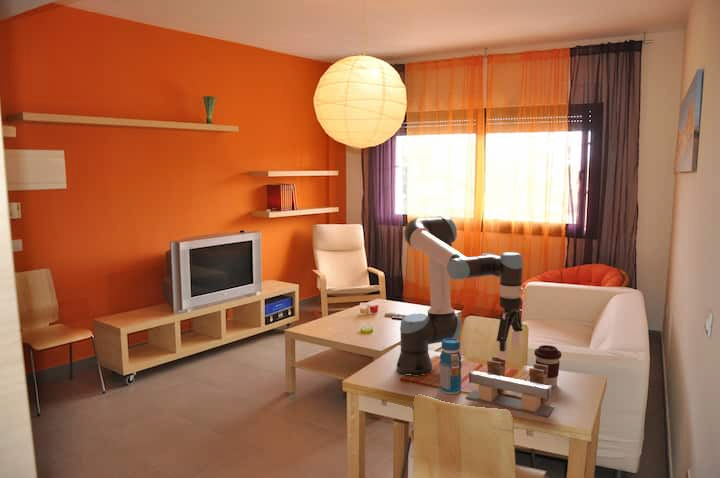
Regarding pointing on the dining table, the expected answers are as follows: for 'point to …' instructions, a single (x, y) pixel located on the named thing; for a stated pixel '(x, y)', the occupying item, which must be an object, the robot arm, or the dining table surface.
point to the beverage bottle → (450, 366)
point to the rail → (511, 384)
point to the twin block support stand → (510, 401)
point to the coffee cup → (549, 362)
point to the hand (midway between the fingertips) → (509, 353)
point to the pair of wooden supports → (536, 374)
